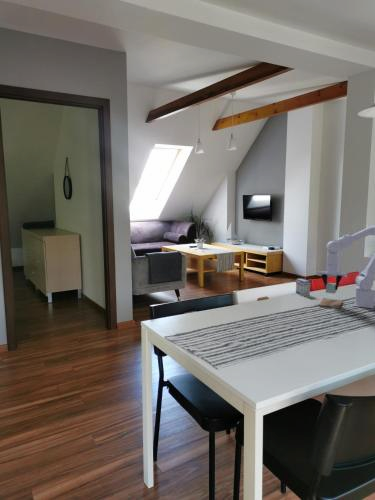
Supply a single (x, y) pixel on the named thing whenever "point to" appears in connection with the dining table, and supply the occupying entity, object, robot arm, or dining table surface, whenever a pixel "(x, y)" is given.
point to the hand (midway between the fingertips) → (331, 289)
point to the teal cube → (331, 288)
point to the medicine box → (303, 287)
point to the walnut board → (331, 303)
